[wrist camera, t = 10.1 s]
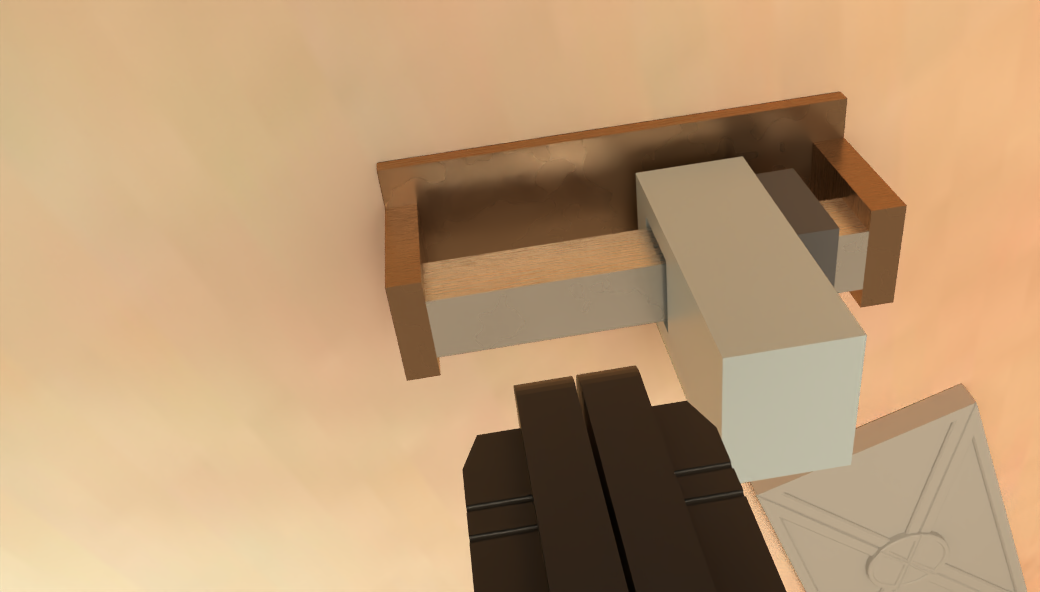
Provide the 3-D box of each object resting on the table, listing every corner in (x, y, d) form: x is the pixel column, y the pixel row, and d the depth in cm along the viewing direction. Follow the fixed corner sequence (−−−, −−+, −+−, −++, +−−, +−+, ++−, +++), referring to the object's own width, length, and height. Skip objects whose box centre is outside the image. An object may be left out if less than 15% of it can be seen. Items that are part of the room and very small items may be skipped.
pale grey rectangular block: (640, 284, 47) (721, 486, 36) (635, 172, 44) (722, 358, 32) (739, 268, 47) (850, 464, 36) (742, 156, 44) (866, 335, 33)
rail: (411, 318, 50) (414, 414, 43) (376, 163, 44) (375, 246, 38) (826, 252, 50) (888, 337, 44) (840, 91, 45) (912, 162, 39)
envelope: (842, 660, 73) (1018, 592, 70) (854, 686, 71) (1035, 617, 69) (745, 472, 59) (959, 380, 57) (757, 498, 57) (978, 405, 55)
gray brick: (746, 273, 46) (785, 340, 42) (749, 175, 43) (791, 236, 39) (787, 267, 46) (830, 333, 42) (793, 168, 43) (839, 228, 39)
